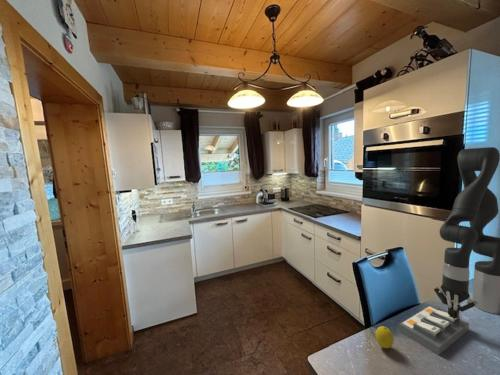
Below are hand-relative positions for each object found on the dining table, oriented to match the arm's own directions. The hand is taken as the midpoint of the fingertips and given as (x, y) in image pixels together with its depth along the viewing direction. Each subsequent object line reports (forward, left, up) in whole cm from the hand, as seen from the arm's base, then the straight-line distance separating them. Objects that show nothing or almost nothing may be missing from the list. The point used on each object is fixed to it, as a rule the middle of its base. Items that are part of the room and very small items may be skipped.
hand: (453, 317), depth 86 cm
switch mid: (+7, -2, -1) cm, 7 cm away
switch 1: (+14, -2, -1) cm, 14 cm away
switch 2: (0, -2, -1) cm, 2 cm away
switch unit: (+7, -3, -5) cm, 9 cm away
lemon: (+32, -8, -6) cm, 33 cm away
